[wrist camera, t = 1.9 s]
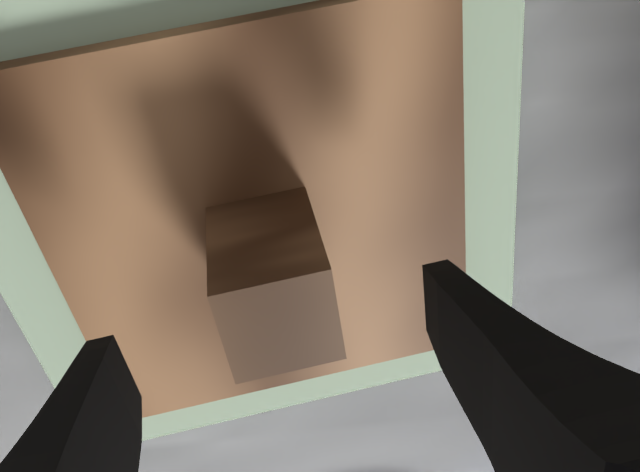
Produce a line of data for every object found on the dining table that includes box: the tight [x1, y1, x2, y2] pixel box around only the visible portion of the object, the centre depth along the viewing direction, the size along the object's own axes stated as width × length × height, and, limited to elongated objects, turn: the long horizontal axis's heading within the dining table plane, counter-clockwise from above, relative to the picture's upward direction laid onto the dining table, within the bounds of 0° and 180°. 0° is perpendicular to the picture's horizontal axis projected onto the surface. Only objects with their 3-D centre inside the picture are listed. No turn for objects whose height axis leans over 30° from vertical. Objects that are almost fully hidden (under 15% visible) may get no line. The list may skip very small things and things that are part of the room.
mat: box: [0, 0, 525, 441], centre depth 18 cm, size 16×16×1 cm
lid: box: [0, 0, 466, 418], centre depth 16 cm, size 12×12×5 cm
